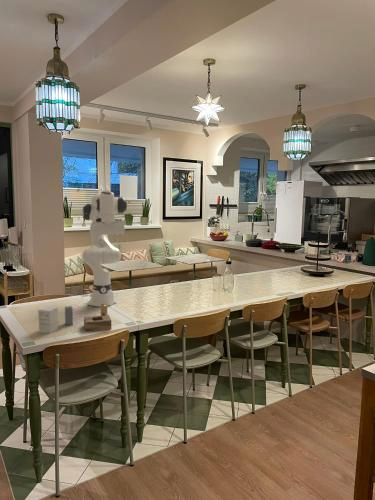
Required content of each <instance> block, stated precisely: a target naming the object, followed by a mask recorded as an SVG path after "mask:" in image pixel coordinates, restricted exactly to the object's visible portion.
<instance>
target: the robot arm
mask: <svg viewBox="0 0 375 500" xmlns="http://www.w3.org/2000/svg"><path fill="white" fill-rule="evenodd" d="M90 199H91V200H90V203H89V202H88V203H87V204H86V205H83V207H82V209H81V215H82V218H83V220H85V221H91V223H90V225H89V226H90V227H89V234H90V237H91V243H92V245H93V246H94V247H93V248H92V247H91V248H87V249H85V250H83V252H82V255H81V256H82V257H81V258H82V261H83V262H84V264H86V265H87V266H88V267H90V269H91V271H92V274H93V286H92V287H93V288H92V289H93V290H92V291H91V293H89V298H90V299H89V301H88V303H87V304H88V306H94V307H98V308H99V307H100V308H101V306H100V305H101V304H107V307H108V306H109V305H110V306H112V305H114V304H116V303H117V301H116V300H115V298H114V295H115V294H114V291H113V290H112V283H111V272H110V271H109V270H108V269H107V268H104V267H102V265H108V264H111V265H113V264H116V263H119V262H120V261H121V259H122V253H121V250H120V249H119V248H118V247H116V246H114V245H113V244H112V243H111V242H110V239H109V236H110V235H111V236H114V235H115V238H114V239H113V242H114V243H118V239H119V236H120V235H125V233H126V231H125V230H126V229H125V224H126V222H125V220H124V219H123V218H116V214H123V213H125V212H126V211H127V208H128V202H127V200H126V199H125V198H124V197H123V196H119V197H118V196H116V197H115V193H114V192H112V191H109V190H108V191H107V190H104V191H101V192H100V193H97V194H94V195H93V196H92V197H91V198H90Z"/></svg>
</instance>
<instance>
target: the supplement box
mask: <svg viewBox="0 0 375 500" xmlns="http://www.w3.org/2000/svg"><path fill="white" fill-rule="evenodd" d="M58 311H59V309H58V307H55V306H48V305H47V306H44V307H42V308H39V309H38V313H37V314H38V332H39V333H44V334H52V333H54V332H55V331H58V330H59V315H58V313H59V312H58Z"/></svg>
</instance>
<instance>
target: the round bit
mask: <svg viewBox="0 0 375 500" xmlns="http://www.w3.org/2000/svg"><path fill="white" fill-rule="evenodd" d="M100 306H101V307H100V316H104V315H108V306H107V304H101V305H100Z"/></svg>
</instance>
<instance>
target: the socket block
mask: <svg viewBox="0 0 375 500" xmlns="http://www.w3.org/2000/svg"><path fill="white" fill-rule="evenodd" d="M83 327H84V330H85V332H95V331H104V330H105V331H106V330H112V319H111V317H110V315H109V314H107V315H104V316H101V315H95V316H84V317H83Z"/></svg>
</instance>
